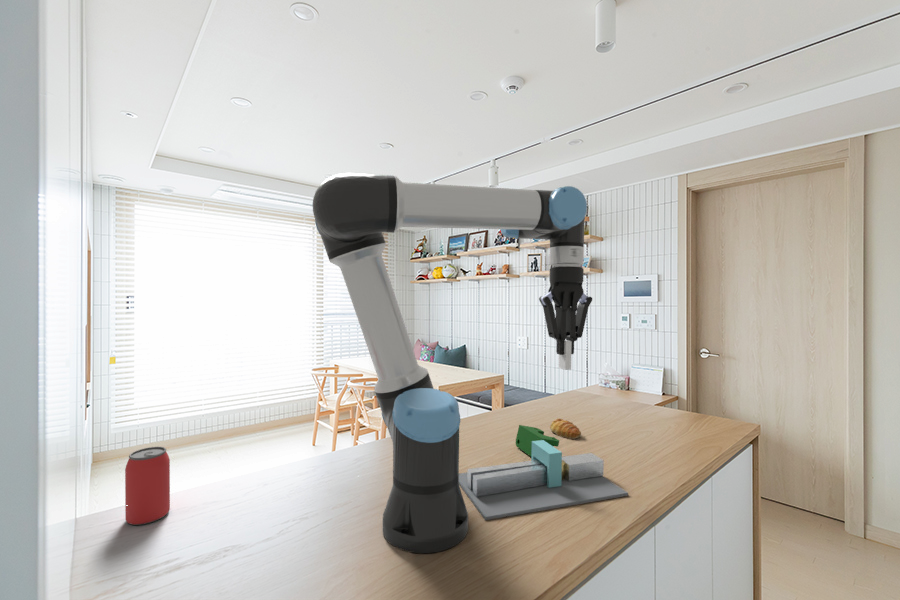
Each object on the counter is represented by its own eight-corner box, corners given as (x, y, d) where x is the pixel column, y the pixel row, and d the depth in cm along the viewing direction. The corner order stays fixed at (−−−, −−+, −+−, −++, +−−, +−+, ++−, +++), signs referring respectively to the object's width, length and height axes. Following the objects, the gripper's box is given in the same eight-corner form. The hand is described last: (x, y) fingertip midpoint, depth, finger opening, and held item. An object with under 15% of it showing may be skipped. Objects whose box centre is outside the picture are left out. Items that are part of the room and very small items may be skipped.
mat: (485, 520, 76) (485, 517, 76) (453, 476, 93) (453, 474, 93) (628, 495, 85) (628, 492, 85) (575, 460, 103) (575, 458, 103)
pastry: (587, 438, 119) (587, 425, 119) (569, 442, 116) (569, 428, 116) (564, 428, 128) (564, 416, 128) (547, 432, 125) (547, 419, 125)
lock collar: (549, 487, 87) (549, 454, 87) (531, 472, 94) (531, 441, 94) (561, 485, 88) (561, 452, 87) (542, 471, 95) (543, 440, 95)
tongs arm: (476, 496, 83) (476, 479, 83) (472, 492, 84) (473, 475, 84) (557, 482, 89) (557, 466, 89) (552, 478, 91) (552, 463, 91)
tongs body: (474, 496, 83) (475, 477, 83) (467, 486, 88) (467, 468, 87) (603, 476, 93) (603, 460, 93) (591, 468, 97) (591, 452, 97)
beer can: (135, 531, 71) (134, 462, 71) (119, 519, 75) (118, 454, 74) (176, 513, 77) (176, 450, 77) (159, 504, 80) (159, 442, 80)
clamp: (549, 474, 105) (564, 446, 102) (529, 471, 103) (545, 443, 100) (530, 440, 116) (544, 415, 113) (512, 438, 114) (525, 411, 111)
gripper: (550, 264, 89) (548, 373, 90) (600, 266, 93) (599, 370, 93) (533, 266, 96) (531, 367, 97) (580, 267, 100) (579, 364, 101)
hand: (564, 368), depth 95 cm, fingers closed
